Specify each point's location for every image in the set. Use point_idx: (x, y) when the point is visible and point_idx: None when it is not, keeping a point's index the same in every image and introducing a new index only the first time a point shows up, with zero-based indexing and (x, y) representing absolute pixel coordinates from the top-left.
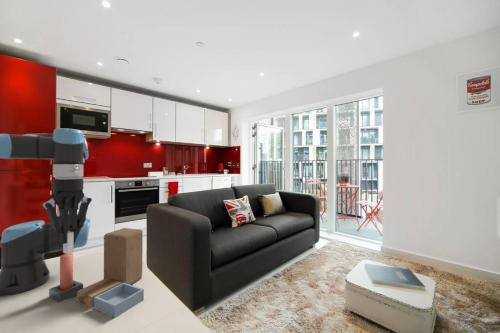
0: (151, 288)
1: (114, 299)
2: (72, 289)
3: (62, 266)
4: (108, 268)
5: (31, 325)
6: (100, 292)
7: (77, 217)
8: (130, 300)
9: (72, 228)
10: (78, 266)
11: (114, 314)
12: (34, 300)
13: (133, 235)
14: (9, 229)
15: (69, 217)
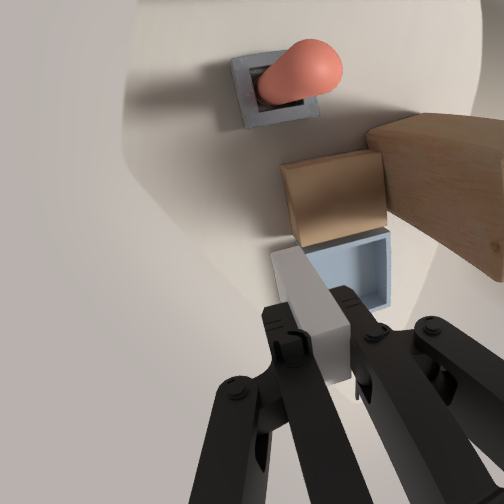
0: (416, 257)
1: (343, 249)
2: (285, 121)
3: (279, 87)
4: (401, 164)
5: (168, 199)
6: (326, 240)
7: (474, 387)
8: None
9: (360, 390)
10: None
11: None
12: (195, 50)
13: None
14: None
15: (409, 442)
